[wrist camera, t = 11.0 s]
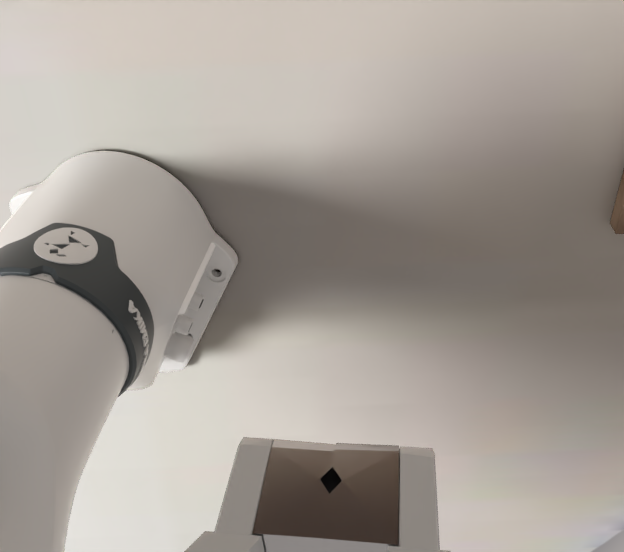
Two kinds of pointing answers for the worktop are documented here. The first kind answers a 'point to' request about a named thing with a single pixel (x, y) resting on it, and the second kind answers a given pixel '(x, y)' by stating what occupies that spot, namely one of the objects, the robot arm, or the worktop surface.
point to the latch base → (619, 210)
